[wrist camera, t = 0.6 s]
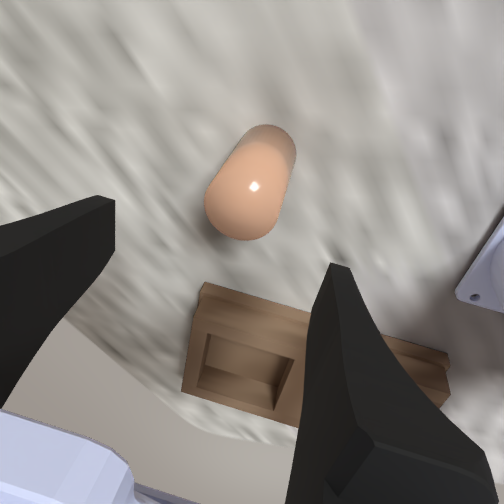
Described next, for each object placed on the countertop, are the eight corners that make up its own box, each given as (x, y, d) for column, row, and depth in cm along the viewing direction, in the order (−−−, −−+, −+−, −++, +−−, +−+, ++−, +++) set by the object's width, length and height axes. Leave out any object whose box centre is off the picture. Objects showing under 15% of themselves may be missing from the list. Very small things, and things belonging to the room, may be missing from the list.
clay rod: (303, 133, 20) (287, 184, 15) (287, 187, 22) (268, 249, 17) (244, 117, 20) (209, 162, 15) (233, 172, 22) (199, 228, 17)
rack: (447, 353, 26) (457, 393, 23) (395, 423, 30) (399, 462, 28) (204, 281, 26) (189, 312, 24) (191, 360, 31) (177, 392, 29)
